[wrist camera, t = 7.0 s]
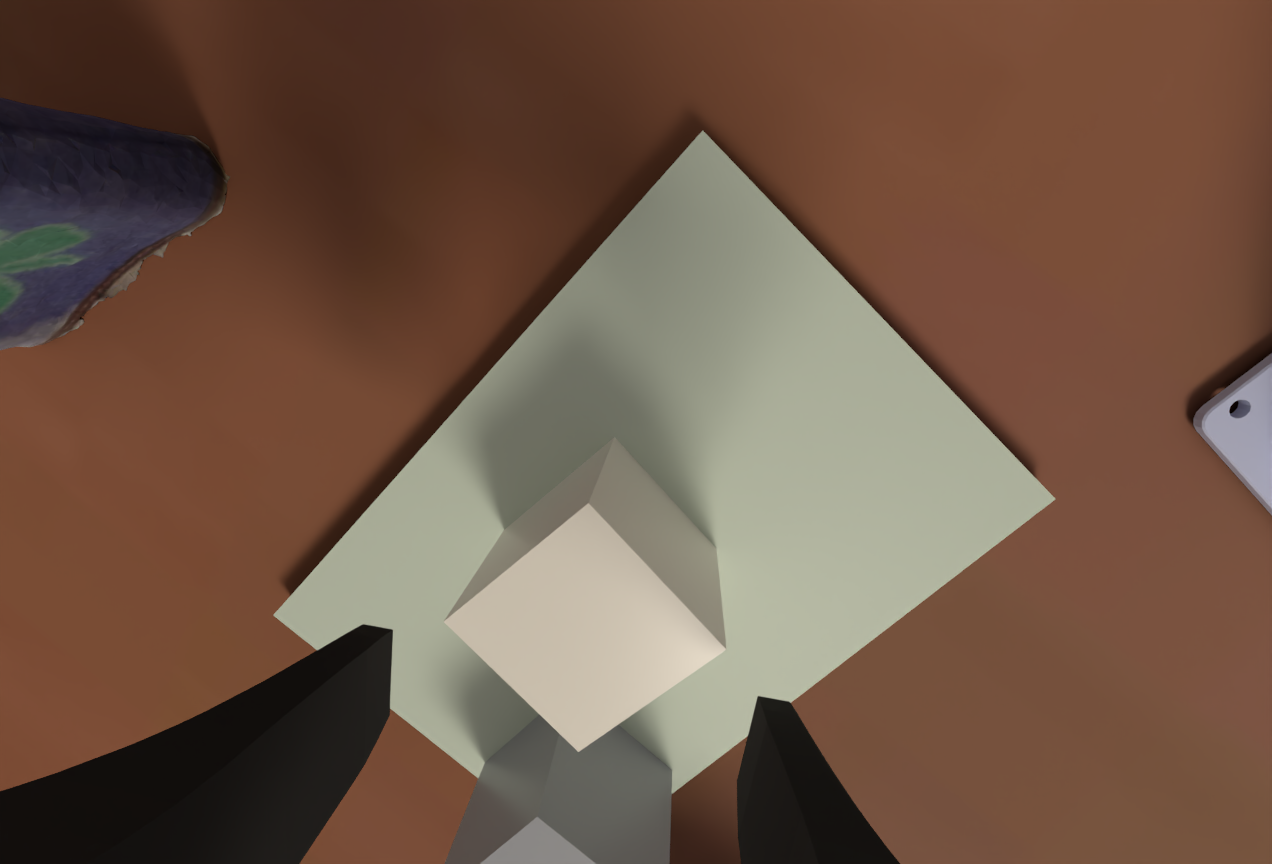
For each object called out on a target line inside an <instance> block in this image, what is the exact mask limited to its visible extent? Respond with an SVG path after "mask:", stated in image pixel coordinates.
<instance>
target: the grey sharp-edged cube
mask: <svg viewBox="0 0 1272 864" xmlns="http://www.w3.org/2000/svg"><path fill="white" fill-rule="evenodd" d="M671 795H672V769H670V768H669V767H668V766H667V765H666V764H664V763H663V762H662V761H661V760H660V759H659V758H657V757H656V756H655V755H654V754H653V753H651V752H650V751H649V750H648V749H647V748H645V747H644V746H643V745H642V744H641V743H640V742H638V741H637V740H636V739H635V738H634V737H632V736H631V735H630V734H629V733H628V732H627V731H625V730H624V729H623V728H622V727H621V726H619V725H617V726H615V727H614V728H612V729H611V730H610V731H608V732H607V733H605V734H604V735H602V736H601V737H599V738H598V739H597V740H595V741H594V742H592V743H591V744H589V745H588V746H586V747H585V748H584V749H582V750H581V751H579V752H578V751H577V750H576V749H575V748H574V747H573V746H572V745H571V744H570V743H568V742H567V741H566V740H565V739H564V738H563V737H562V736H561V735H560V734H559V733H558V732H557V731H556V730H555V729H554V728H553V727H552V726H551V725H550V724H549V723H548V722H547V721H546V720H545V719H544V718H543V717H542V716H541V715H540V714H539V715H538V716H537V717H536V718H535V719H534V720H533V721H531V722H530V723H529V724H528V725H527V726H526V727H525V728H523V729H522V730H521V731H520V732H519V733H518V734H517V735H516V736H514V737H513V738H512V739H511V740H510V741H509V742H508V743H506V744H505V745H504V746H503V747H502V748H501V749H500V750H499V751H497V752H496V753H495V754H494V755H493V756H492V757H491V758H489V759H488V760H487V761H486V762H485V763H484V766H483V768H482V771H481V773H480V776H479V778H478V781H477V784H476V786H475V789H474V791H473V794H472V796H471V799H470V801H469V804H468V806H467V809H466V811H465V814H464V816H463V819H462V821H461V824H460V826H459V829H458V831H457V834H456V836H455V839H454V841H453V844H452V846H451V849H450V851H449V854H448V857H447V859H446V862H445V864H670V829H671Z"/></svg>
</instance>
